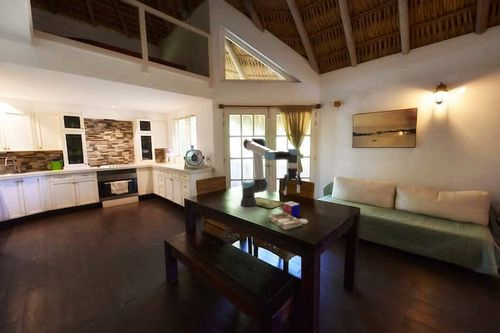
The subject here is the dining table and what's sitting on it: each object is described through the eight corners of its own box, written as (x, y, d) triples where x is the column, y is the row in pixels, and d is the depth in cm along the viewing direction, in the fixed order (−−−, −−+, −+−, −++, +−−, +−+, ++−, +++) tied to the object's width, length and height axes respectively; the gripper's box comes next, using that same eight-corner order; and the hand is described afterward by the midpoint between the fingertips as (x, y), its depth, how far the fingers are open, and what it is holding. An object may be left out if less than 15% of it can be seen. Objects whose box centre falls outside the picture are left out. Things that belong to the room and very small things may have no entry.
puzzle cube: (291, 218, 167) (291, 206, 165) (282, 214, 175) (282, 203, 173) (299, 215, 173) (300, 204, 171) (290, 212, 181) (291, 201, 179)
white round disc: (294, 220, 162) (294, 219, 162) (302, 218, 165) (302, 218, 165) (301, 224, 155) (301, 223, 155) (310, 222, 158) (310, 221, 158)
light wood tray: (268, 219, 164) (268, 215, 164) (284, 216, 171) (284, 212, 171) (284, 229, 146) (284, 225, 146) (301, 225, 153) (301, 221, 153)
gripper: (282, 169, 159) (281, 196, 162) (307, 167, 170) (306, 192, 173) (276, 168, 166) (276, 194, 169) (301, 166, 177) (300, 190, 180)
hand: (291, 193), depth 171 cm, fingers open, 13 cm apart
